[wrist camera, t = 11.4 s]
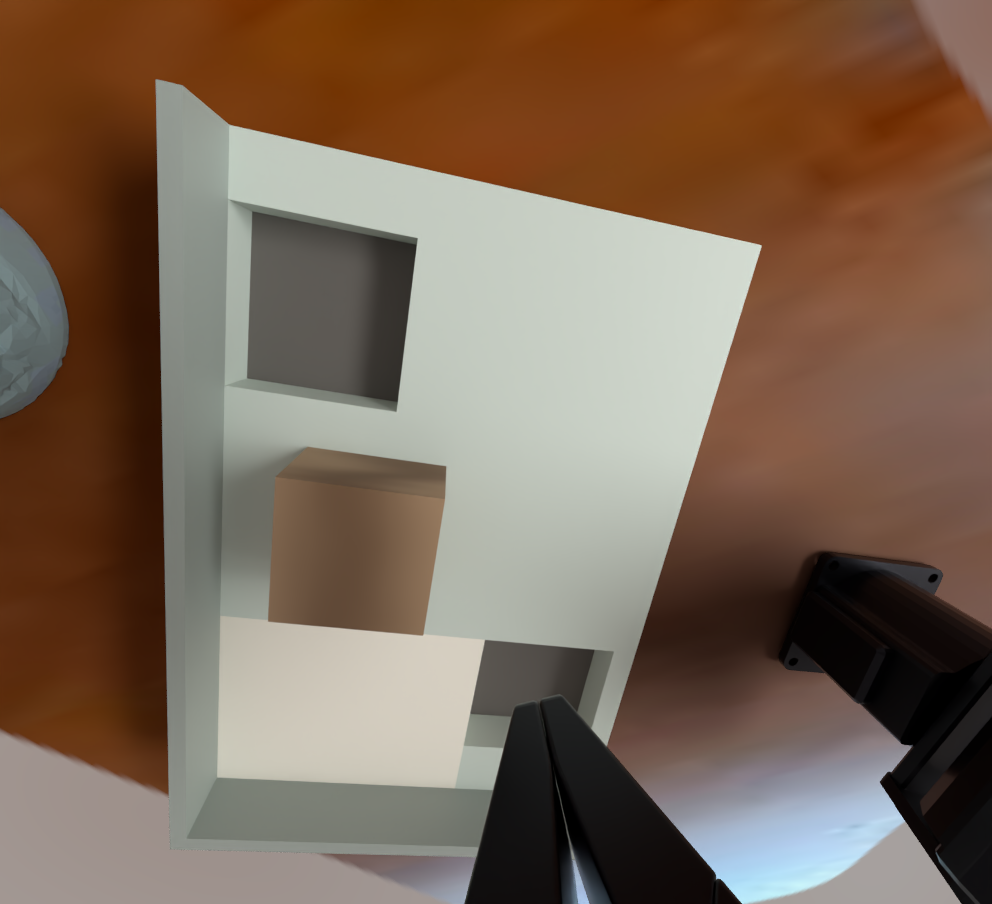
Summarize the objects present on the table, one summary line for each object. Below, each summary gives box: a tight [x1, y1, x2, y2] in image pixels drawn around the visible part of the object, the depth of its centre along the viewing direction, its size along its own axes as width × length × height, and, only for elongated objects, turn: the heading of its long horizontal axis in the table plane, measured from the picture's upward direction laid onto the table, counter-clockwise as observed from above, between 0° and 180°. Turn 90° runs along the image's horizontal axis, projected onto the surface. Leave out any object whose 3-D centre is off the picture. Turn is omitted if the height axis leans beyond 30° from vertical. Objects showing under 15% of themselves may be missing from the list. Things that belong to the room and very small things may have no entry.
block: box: [268, 447, 446, 636], centre depth 16 cm, size 5×5×3 cm
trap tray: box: [156, 79, 762, 860], centre depth 18 cm, size 18×26×4 cm
